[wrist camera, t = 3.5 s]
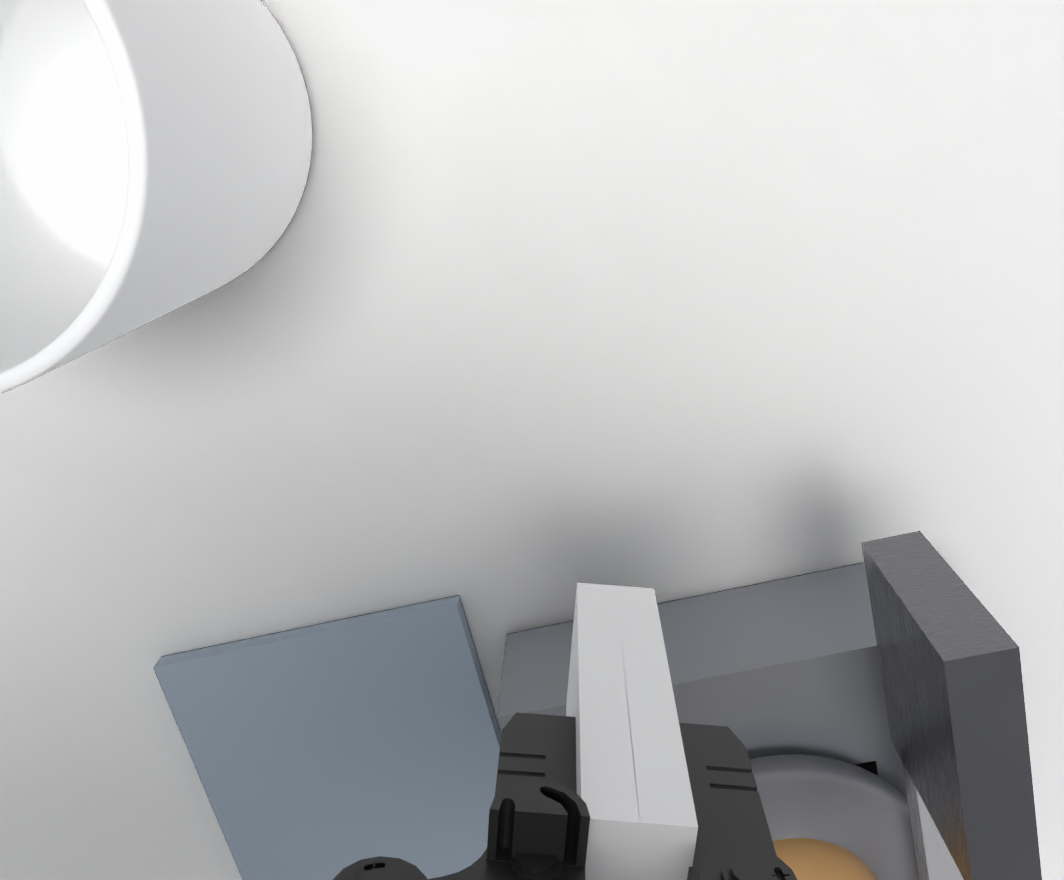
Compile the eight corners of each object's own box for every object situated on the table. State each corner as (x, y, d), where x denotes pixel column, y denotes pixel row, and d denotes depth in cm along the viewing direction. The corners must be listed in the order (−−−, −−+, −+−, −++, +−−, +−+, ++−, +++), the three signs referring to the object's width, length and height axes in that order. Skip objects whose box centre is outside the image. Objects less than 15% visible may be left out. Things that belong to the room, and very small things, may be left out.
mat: (261, 896, 31) (256, 911, 30) (161, 656, 28) (153, 668, 27) (534, 848, 30) (534, 863, 29) (459, 595, 27) (456, 605, 26)
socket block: (598, 954, 31) (604, 1113, 26) (506, 634, 27) (493, 748, 22) (977, 892, 30) (1059, 1047, 25) (934, 548, 26) (1020, 649, 21)
